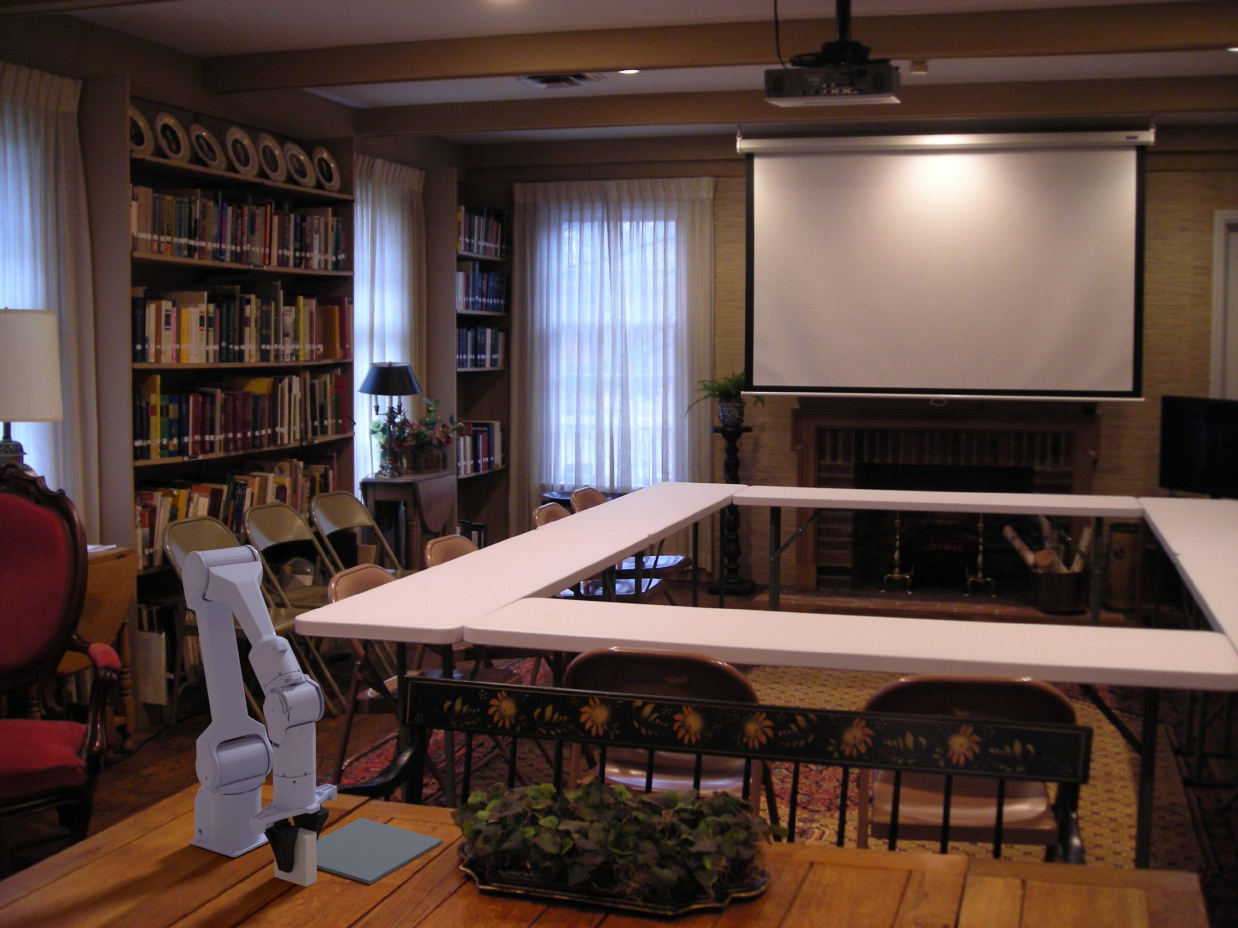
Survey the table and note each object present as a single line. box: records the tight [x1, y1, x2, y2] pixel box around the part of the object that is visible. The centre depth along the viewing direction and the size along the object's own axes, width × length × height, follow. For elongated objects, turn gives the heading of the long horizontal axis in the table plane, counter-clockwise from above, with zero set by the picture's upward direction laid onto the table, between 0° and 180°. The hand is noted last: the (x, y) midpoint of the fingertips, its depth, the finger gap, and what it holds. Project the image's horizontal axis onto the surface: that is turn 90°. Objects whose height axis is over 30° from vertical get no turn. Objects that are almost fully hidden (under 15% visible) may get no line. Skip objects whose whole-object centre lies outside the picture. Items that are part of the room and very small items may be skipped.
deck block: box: [273, 828, 318, 888], centre depth 161 cm, size 6×2×7 cm, turn 60°
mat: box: [317, 817, 444, 885], centre depth 171 cm, size 16×16×1 cm
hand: (295, 865), depth 161 cm, fingers open, 3 cm apart
